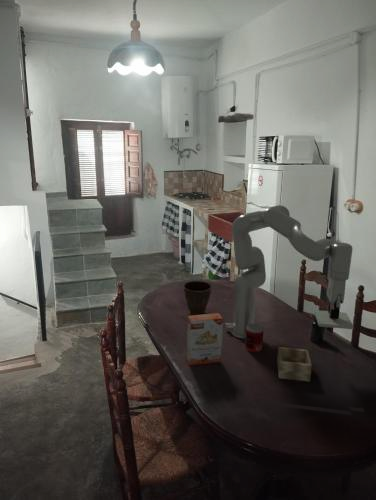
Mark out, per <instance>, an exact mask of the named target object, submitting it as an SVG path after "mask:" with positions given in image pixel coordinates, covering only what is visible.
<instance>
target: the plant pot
mask: <svg viewBox="0 0 376 500" xmlns="http://www.w3.org/2000/svg"><path fill="white" fill-rule="evenodd" d="M183 290H184V296H185V301H186V304H187V307H188V310H189V313H190V314H191V315H203V314H205V311H206V309H207V307H208V303H209V300H210V297H211V293H212V284H211V283H209V282H206V281H201V280H200V281H199V280H195V281H194V280H192V281H188V282H187V283H184V285H183Z"/></svg>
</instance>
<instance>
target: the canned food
mask: <svg viewBox="0 0 376 500" xmlns="http://www.w3.org/2000/svg"><path fill="white" fill-rule="evenodd" d="M244 342H245V343H244V345H245V346H244V348H245V350H247V351H248V352H251V353H259V352H261V351H262V350H263V342H264V327H263V325H261V324H257V323H254V324H249V325H247V327H246V339H245V341H244Z"/></svg>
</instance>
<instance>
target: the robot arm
mask: <svg viewBox="0 0 376 500" xmlns="http://www.w3.org/2000/svg"><path fill="white" fill-rule="evenodd" d="M290 215H291V214H290V210H289V209H288V208H287V207H286V206H284V205H274V206H269V207H267V208H265V209H261V210H257V211H253V212H248V213H244V214H241V215H239V216H238V217H236V218H235V219H234V220H233V222H232V224H231V235H232V240H233V251H234V262H235V266H236V267H237V268H238V269H239V270H244V271H243V272H241V273H239V274H238V275H237V276H236V278H235V279H234V292H235V306H234V321H233V322H231V323H229V322H225V323H224V324H225V326H224V328H226V329H228V330H230V333H231V334H232V336H233V337H235V338H238V339H243V340H246V327H247V325H249V324H255V315H256V314H255V313H256V295H255V290H256V289H258V288H260V287H262V286H263V285H264V284H265V283H266V279H267V272H266V266H265V265H266V264H265V263H266V261H265V255H264V253H263V251H262V250H261V248H259V247H258V246H253V241H252V237H251V235H250V234H249V233H250V232H254V231H258V230H262V229H266V228H270V229H271V230H273V231H275V232H277V233H278V234H280V235H281V236H283V237H285V238H286V239H287V240H288V241H289V243H290V245H291V246H292V247H293V248H294V250H296V251H297V252H298V253H300V254H301V255H302V256H304V257H306V258H307V259H308V260H311V261H313V262H319V261H322V260H324V259H326V258H330V261H329V267H328V277H329V279H328V284H327V289H326V296H327V300H328V301H329V306H328V311H329V312H328V313H329V314H330V306H331V303H333V304H332V309H331V314H330V318H334V319H338V318H339V312H340V309H341V304H344V300H345V293H346V287H347V286H346V283H347V282H346V281H347V280H349V278H350V272H351V271H350V269H351V264H352V263H351V262H352V256H353V255H352V254H353V246H352V245H351V244H350V243H348V242H347V243H346V242H342V241H341V242H338V241H336V240H334V239H333V240H332V239H330V238H322V239H318V240H316V241H315V240H313V239H311V238H310V237H309V236H307V235H306V234H304V232H303V231H302V228H301V227H302V224H301V222H300V221H298V220H297V219H295V218H294V217H292V216H290ZM245 270H246V271H245ZM335 301H337V302H335ZM334 304H336V305H335V306H334Z"/></svg>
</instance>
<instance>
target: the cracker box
mask: <svg viewBox="0 0 376 500" xmlns="http://www.w3.org/2000/svg"><path fill="white" fill-rule="evenodd" d="M223 329H224V318H223V316H221V314H220V312H218V313H216V312H215V313H207V314H206V313H204V314H203V315H192V314H191V315H187V337H186V338H187V341H186V344H187V345H186V360H187V363H188V365H189V367H190V366H197V365H207V364H215V363H221V361H222V360H221V359H222V345H223V331H224V330H223Z"/></svg>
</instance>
